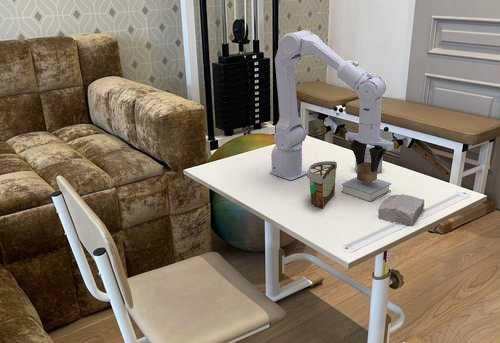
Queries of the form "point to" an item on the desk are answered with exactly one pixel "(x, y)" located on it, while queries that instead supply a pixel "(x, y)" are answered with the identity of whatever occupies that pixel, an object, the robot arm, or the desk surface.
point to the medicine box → (368, 159)
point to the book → (366, 189)
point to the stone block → (401, 209)
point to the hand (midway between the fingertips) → (367, 168)
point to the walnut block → (366, 173)
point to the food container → (322, 182)
